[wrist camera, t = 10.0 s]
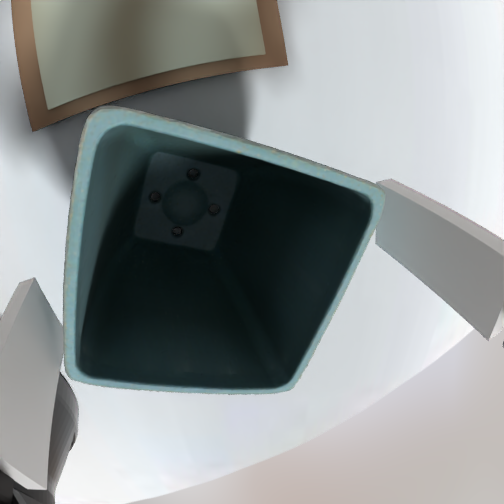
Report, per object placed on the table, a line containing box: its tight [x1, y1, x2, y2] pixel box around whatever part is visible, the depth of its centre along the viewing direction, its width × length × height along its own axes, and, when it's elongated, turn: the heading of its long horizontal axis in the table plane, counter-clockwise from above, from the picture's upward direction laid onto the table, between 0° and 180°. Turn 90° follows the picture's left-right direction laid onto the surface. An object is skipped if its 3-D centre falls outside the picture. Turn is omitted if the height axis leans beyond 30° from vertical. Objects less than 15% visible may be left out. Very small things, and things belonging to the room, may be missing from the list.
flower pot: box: [63, 105, 385, 395], centre depth 13 cm, size 9×9×9 cm
